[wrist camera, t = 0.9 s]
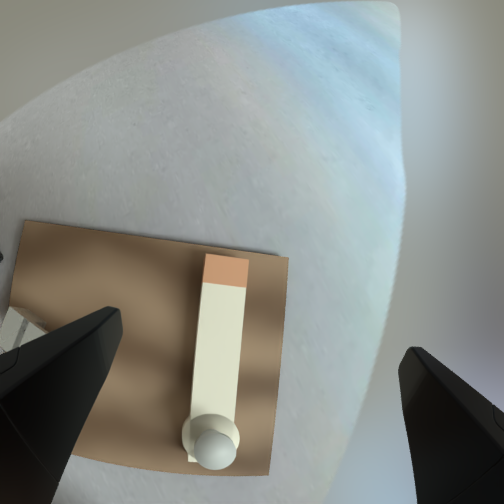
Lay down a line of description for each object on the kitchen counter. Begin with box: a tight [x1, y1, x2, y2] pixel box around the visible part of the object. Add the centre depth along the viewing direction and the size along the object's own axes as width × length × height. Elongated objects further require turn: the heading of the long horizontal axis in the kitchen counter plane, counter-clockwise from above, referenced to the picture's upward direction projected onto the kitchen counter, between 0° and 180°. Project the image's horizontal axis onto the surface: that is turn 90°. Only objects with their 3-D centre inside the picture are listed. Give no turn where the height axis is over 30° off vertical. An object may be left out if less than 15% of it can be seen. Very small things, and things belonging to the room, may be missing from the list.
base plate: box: [5, 220, 289, 476], centre depth 21 cm, size 18×22×1 cm
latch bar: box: [182, 254, 249, 470], centre depth 20 cm, size 15×4×4 cm, turn 175°
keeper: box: [0, 306, 49, 352], centre depth 18 cm, size 3×7×3 cm, turn 65°
